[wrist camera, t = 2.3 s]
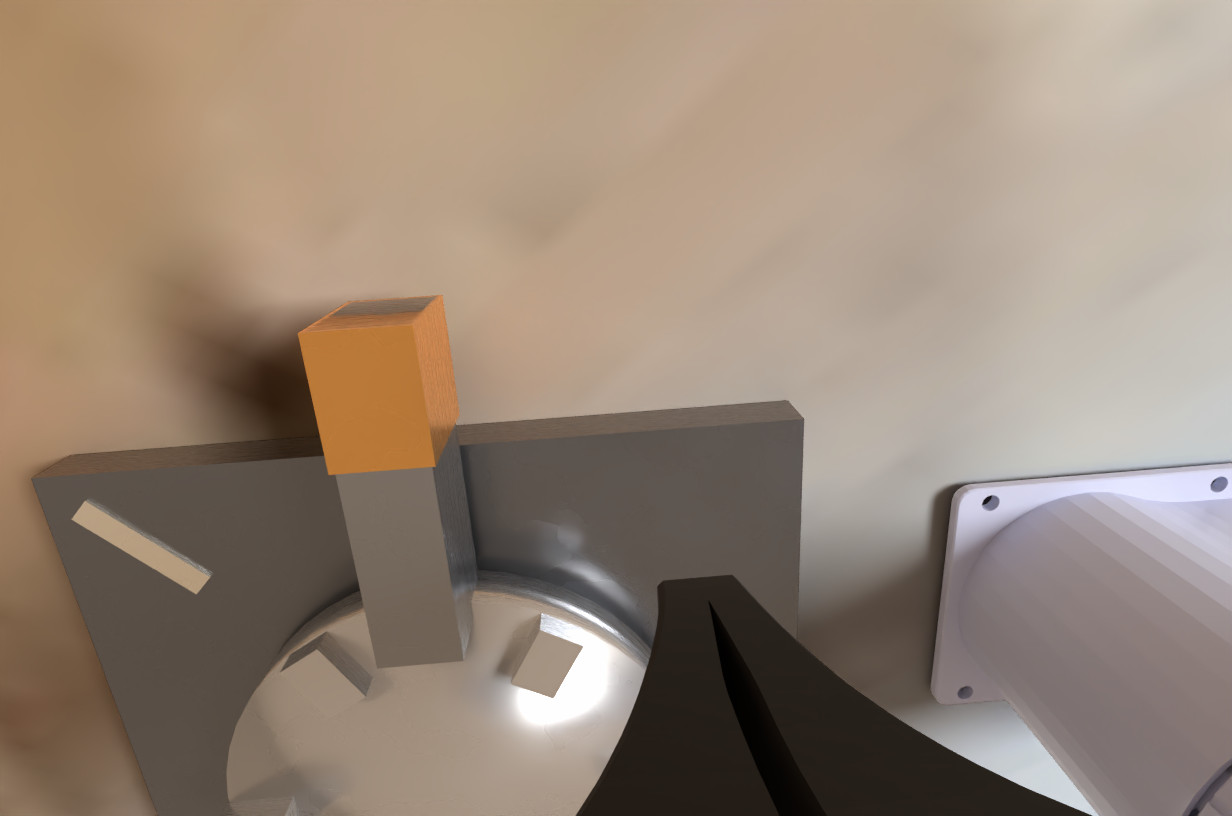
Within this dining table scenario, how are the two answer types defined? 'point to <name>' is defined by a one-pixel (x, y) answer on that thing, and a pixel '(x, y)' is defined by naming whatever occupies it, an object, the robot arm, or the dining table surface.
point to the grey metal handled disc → (424, 620)
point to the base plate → (324, 566)
